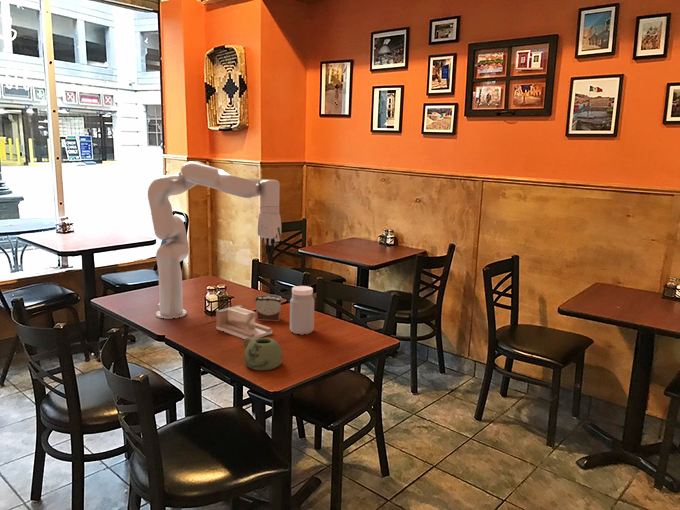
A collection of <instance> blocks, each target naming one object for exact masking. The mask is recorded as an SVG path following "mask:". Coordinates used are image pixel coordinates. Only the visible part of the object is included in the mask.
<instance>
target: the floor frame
mask: <svg viewBox="0 0 680 510" xmlns="http://www.w3.org/2000/svg"><path fill="white" fill-rule="evenodd" d="M233 307H240V308H244V305H241V304H238V305H233V306H229V307H226V308H222V309H218V310H215V312H216V313H215V325H216V326H215V327H216V330H219V331H221V332H223V331H224V332H223V333H225V334H229V335H232V336H234V337H237V338H239V339H242V340H243V339H244V340H245V339H246V338H250V339H251V340H254V339H257V338H264V337H266V336H270V335H272V334H273V330H272V327H269V326H267V325H263V324H260V323H257V322H255V329H253V330H250V331H246V330H243V329H240V328H237V327H235V326H232V325H229V324H228V317H227V309H229V308H233Z"/></svg>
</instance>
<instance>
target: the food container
mask: <svg viewBox="0 0 680 510" xmlns="http://www.w3.org/2000/svg"><path fill="white" fill-rule="evenodd" d="M253 299H254V300H253V302H255V308H256V309H255V310H256V319H257V321H274V322H279V321H280V316H281V309H282V308H281V306H282V304H283V303H284V302H283V298H282V296H281V295H278V294H271V293H270V294H269V293H267V294H259V295H256V296H255V297H254V298H253Z"/></svg>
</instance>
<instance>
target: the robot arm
mask: <svg viewBox="0 0 680 510" xmlns="http://www.w3.org/2000/svg"><path fill="white" fill-rule="evenodd" d="M195 186H202V187H203V186H204V187H207V188H211V189H214V190H217V191H220V192H224V193H226V194H229V195H233V196H237V197H240V198H243V199H251V198H255V197H260V208H259V209H260V212H259V215H258V220H257V236H258V237H260V239H261V240H262V241H264V242H263V243H264V245H265V255H269V256H270V255H274V254H275V245H276V243H277V242H280V241H281V236H282V218H281V214H280V188H281V187H280V186H281V185H280V182H279V180H277V179H260V178H243V177H240V176H235V175H233V174H231V173H230V174H229V173H228V172H226V171H225V170H224V169H222V168H218V167H214V166H211V165H208V164H205V163H204V162H201V161H187V162H185V163H184V164H182V166H181V168H180V171H178V172H177V173H175V174H165V175H161V176H159V177H157V178H155V179H154V180H153V181H152V182H151V183H150V184H149V187H148V189H147V200H148V203H149V208H150V214H151V220H152V226H153V231H154V235H155V237H157V238H158V240H162V241H166V242H165V243H164V244H161V245H160V246H159V247H158V249H157V250H156V253H155V259H156V265H157V271H158V297H159V303H157V304H156V307H157V308H158V309H159V310H158V311H156V313H155V315H156V317H157V318H159V319H163V318H164V320H172V319H173V318H175V319H180V318H183V317H185V316H186V315H187V312H188V311H187V310H186V309H184V307H183V272H182V268H181V264H180V263H181V262H182V261H184V260H185V259H187V257H188V256H189V252H190V248H189V246H190V245H189V241H188V236H187V235H188V234H187V230H186V226H185V223H184V221H183V219H181V217H180V216H177V215H174V212H173V207H172V204H171V202H170V199H169V197H171V196H177V195H181V194H183V193H185V192H187V191H189V190H190V189H192V188H194V187H195ZM179 317H180V318H179Z"/></svg>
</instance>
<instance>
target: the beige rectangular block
mask: <svg viewBox="0 0 680 510" xmlns="http://www.w3.org/2000/svg"><path fill="white" fill-rule="evenodd" d="M232 307H233V306H232ZM228 308H229V307H228ZM227 317H228V324H229V325H232V326H235V327H237V328H240V329H243V330H246V331H250V330H253V329H255V323H256V312H255V311H253V310H249V309H246V308H245V307H243V308H240V307H233V308H229V309H227Z"/></svg>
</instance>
